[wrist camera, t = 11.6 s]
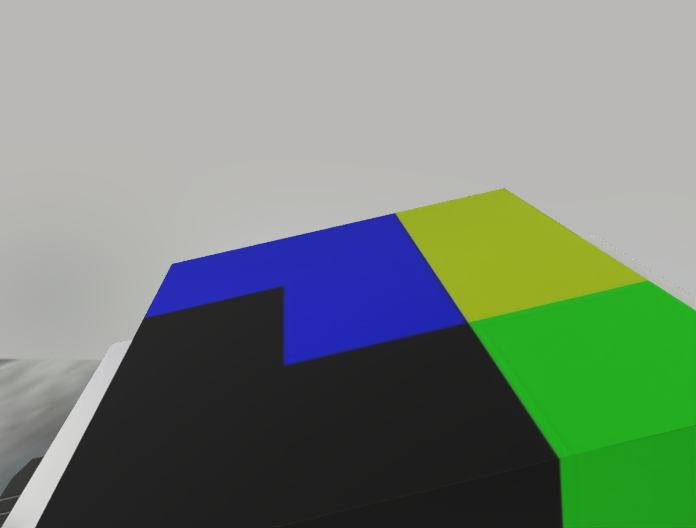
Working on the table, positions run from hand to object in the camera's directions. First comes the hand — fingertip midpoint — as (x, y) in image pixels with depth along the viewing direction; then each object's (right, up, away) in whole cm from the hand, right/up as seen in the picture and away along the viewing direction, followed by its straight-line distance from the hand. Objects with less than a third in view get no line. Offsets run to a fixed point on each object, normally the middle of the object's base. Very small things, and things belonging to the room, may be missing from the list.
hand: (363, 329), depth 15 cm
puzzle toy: (+2, -8, 0) cm, 8 cm away
